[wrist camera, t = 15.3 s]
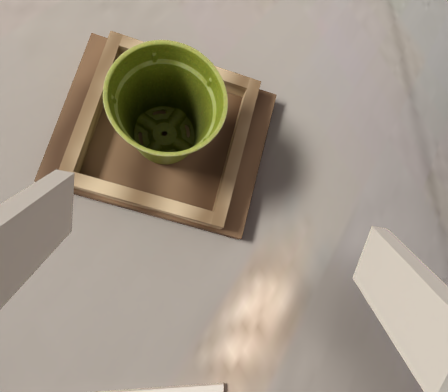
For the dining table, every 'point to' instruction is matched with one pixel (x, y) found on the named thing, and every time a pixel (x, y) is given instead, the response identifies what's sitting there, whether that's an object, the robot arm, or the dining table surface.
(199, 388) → the photo frame
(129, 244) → the dining table surface
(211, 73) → the plant pot
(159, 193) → the walnut pot stand
